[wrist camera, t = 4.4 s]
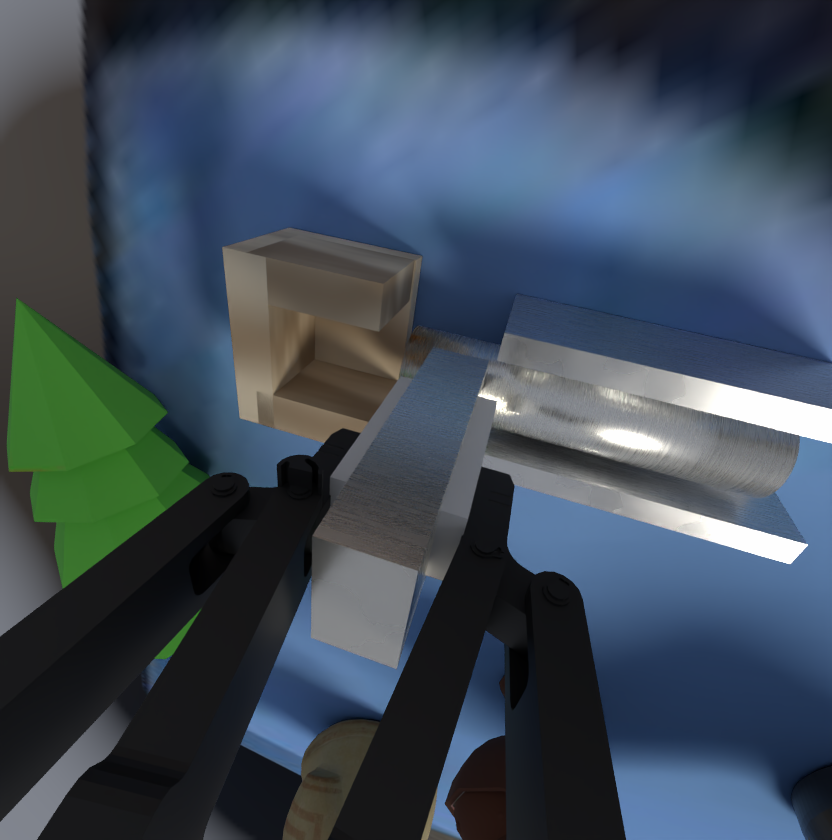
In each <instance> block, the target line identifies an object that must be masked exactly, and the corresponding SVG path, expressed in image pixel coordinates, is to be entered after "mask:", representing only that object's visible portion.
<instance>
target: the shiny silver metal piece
mask: <svg viewBox="0 0 832 840" xmlns="http://www.w3.org/2000/svg"><path fill="white" fill-rule="evenodd" d="M500 348H501V345H499V344H494V343H490V342H486V341H482V340H478V339H474V338H469V337H465V336H461V335H457V334H453V333H448V332H444V331H440V330H436V329H432V328H428V327H423V326H419V325H418V326H417V327H416V328H415V329H414V330H413V332H412V334H411V336H410V339H409V341H408V344H407V346H406V349H405V353H404V356H403V360H402V364H401V368H400V373H399V378H400V377H401V376H403V377H407V378H411V379H413V380H412V381H411V383H410V384H409V386H408V387H407V389H406V391H405V392H404V394H403V395H402V397H401V398H400V400H399V401H398V403H397V405H396V406H395V408H394V409H393V411H392V412H391V414H390V415H389V417H388V419H387V420H386V422H385V423H384V425H383V426H382V428H381V429H380V431H379V433H378V434H377V436H376V437H375V439H374V440H373V442H372V443H371V445H370V447H369V448H368V450H367V451H366V453H365V454H364V456H363V457H362V459H361V461H360V462H359V464H358V465H357V467H356V468H355V470H354V471H353V473H352V475H351V476H350V478H349V479H348V481H347V482H346V484H345V485H344V487H343V489H342V490H341V492H340V493H339V495H338V496H337V498H336V499H335V501H334V503H333V504H332V506H331V507H330V509H329V510H328V512H327V514H326V515H325V517H324V518H323V520H322V521H321V523H320V524H319V526H318V528H317V529H316V531H315V532H314V534H313V535H312V598H311V638H313V639H316V640H319V641H321V642H324V643H327V644H330V645H332V646H335V647H338V648H341V649H343V650H346V651H349V652H351V653H354V654H357V655H360V656H362V657H365V658H368V659H370V660H373V661H376V662H379V663H381V664H384V665H387V666H389V667H392V668H395V669H397V666H398V663H399V660H400V657H401V654H402V650H403V647H404V644H405V641H406V638H407V635H408V631H409V628H410V625H411V622H412V619H413V616H414V612H415V609H416V606H417V603H418V600H419V597H420V594H421V590H422V587H423V584H424V581H425V578H426V575H425V574H426V570H427V566H428V561H429V557H430V553H431V549H432V545H433V540H434V536H435V532H436V528H437V523H438V519H439V515H440V511H441V508H442V505H443V502H444V499H445V496H446V493H447V490H448V487H449V484H450V481H451V478H452V475H453V472H454V469H455V466H456V463H457V460H458V457H459V454H460V451H461V448H462V445H463V442H464V439H465V436H466V433H467V430H468V427H469V424H470V421H471V418H472V415H473V412H474V409H475V406H476V403H477V400H478V397H479V396H480V397H484V398H488V399H491V400H495V401H498V402H497V406H496V410H495V414H494V418H493V422H492V426H491V427H492V428H496V429H500V430H503V431H507V432H511V433H515V434H518V435H522V436H526V437H529V438H533V439H537V440H541V441H544V442H548V443H552V444H555V445H559V446H563V447H567V448H570V449H574V450H578V451H581V452H585V453H589V454H592V455H596V456H600V457H604V458H607V459H611V460H615V461H618V462H622V463H626V464H630V465H633V466H637V467H641V468H644V469H648V470H652V471H655V472H659V473H663V474H667V475H670V476H674V477H678V478H681V479H685V480H689V481H693V482H696V483H700V484H704V485H707V486H711V487H715V488H719V489H722V490H726V491H730V492H733V493H737V494H741V495H744V496H748V497H752V498H764V497H767V496H769V495H771V494H773V493H774V492H776V491H777V490H778V489H779V488H780V487H781V486H782V485H783V484H784V483H785V481H786V480H787V478H788V477H789V475H790V474H791V472H792V470H793V468H794V465H795V462H796V460H797V456H798V451H799V443H800V439H799V435H797V434H793V433H789V432H785V431H781V430H777V429H773V428H769V427H765V426H760V425H756V424H752V423H748V422H744V421H740V420H736V419H732V418H728V417H724V416H720V415H716V414H712V413H708V412H703V411H699V410H695V409H691V408H687V407H683V406H679V405H675V404H671V403H667V402H663V401H659V400H655V399H651V398H646V397H642V396H638V395H634V394H630V393H626V392H622V391H618V390H614V389H610V388H606V387H602V386H598V385H594V384H589V383H585V382H581V381H577V380H573V379H569V378H565V377H561V376H557V375H553V374H549V373H545V372H541V371H537V370H532V369H528V368H524V367H520V366H516V365H512V364H508V363H504V362H500V361H497V359H498V355H499V351H500Z"/></svg>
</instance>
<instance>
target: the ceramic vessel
mask: <svg viewBox="0 0 832 840" xmlns="http://www.w3.org/2000/svg"><path fill="white" fill-rule="evenodd" d="M379 723H380V722H378V721H372V720H365V719H355V720H345V721H341V722H339V723H336V724H334V725H332V726H330V727H329V728H327V729H326V730H324V731H322V732H321V733H320V734H318V735H317V737H316V738H315V739H314V740H313V741H312V742H311V744H310V745H309V746H308V748H307V749H306V751H305V753H304V756H303V759H302V764H301V767H302V770H301V776H302V780H303V782H302V783H301V785H300V787H299V789H298V791H297V793H296V796H295V798H294V800H293V803H292V805H291V808H290V810H289V813H288V816H287V819H286V823H285V827H284V832H283V840H328V838H329V836H330V834H331V831H332V829H333V827H334V825H335V823H336V820H337V818H338V816H339V814H340V811H341V809H342V807H343V805H344V802H345V800H346V798H347V796H348V793H349V791H350V789H351V786H352V784H353V782H354V780H355V777H356V775H357V773H358V771H359V768H360V766H361V764H362V762H363V759H364V757H365V755H366V753H367V750H368V748H369V746H370V744H371V741H372V739H373V737H374V735H375V732H376V730H377V728H378V726H379ZM437 787H438V786H437ZM436 797H437V790H436V793H435V796H434V799H433V803H432V806H431V809H430V812H429V816H428V819H427V822H426V826H425V829H424V832H423V835H422V839H421V840H427V839H428V836H429V833H430V829H431V824H432V820H433V816H434V811H435V805H436Z"/></svg>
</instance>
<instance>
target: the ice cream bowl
mask: <svg viewBox="0 0 832 840" xmlns="http://www.w3.org/2000/svg"><path fill="white" fill-rule="evenodd" d="M499 684H500V689H501V691H502V693H503V695H504V697H505V675H504V676H503V678H502V679H501V681H500V682H499ZM445 805H446V806H447V808H448V809H449V811H450V812H451V813H452V815H453V816H454V818H455V821H456V827H457V830H458V832H459V834H460V836H461V838H462V840H506V745H505V735H504V736H500V737H496V738H493V739H490V740H488V741H487V742H485V743H484V744H483V745H481V746H480V747H478V748H477V749H475V750H474V751H473V753H472V754H471V755H470V756H469V758H468V759H467V760H466V761H465V763H464V764H463V765H462V767H461V769H460V770H459V772H458V774H457V775H456V777H455V778H454V780H453V782H452V785H451V788H450V790H449V793H448V796H447V799H446V802H445Z"/></svg>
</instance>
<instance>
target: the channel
mask: <svg viewBox="0 0 832 840" xmlns="http://www.w3.org/2000/svg"><path fill="white" fill-rule="evenodd" d="M497 361H500V362H504V363H508V364H512V365H516V366H520V367H524V368H528V369H532V370H537V371H541V372H545V373H549V374H553V375H557V376H561V377H565V378H569V379H573V380H577V381H581V382H585V383H589V384H594V385H598V386H602V387H606V388H610V389H614V390H618V391H622V392H626V393H630V394H634V395H638V396H642V397H646V398H651V399H655V400H659V401H663V402H667V403H671V404H675V405H679V406H683V407H687V408H691V409H695V410H699V411H703V412H708V413H712V414H716V415H720V416H724V417H728V418H732V419H736V420H740V421H744V422H748V423H752V424H756V425H760V426H765V427H769V428H773V429H777V430H781V431H785V432H789V433H793V434H797V435H801V436H805V437H809V438H813V439H817V440H822V441H826V442H830V443H832V363H829V362H824V361H820V360H815V359H811V358H806V357H802V356H797V355H793V354H788V353H784V352H779V351H775V350H770V349H765V348H761V347H756V346H752V345H747V344H743V343H738V342H734V341H729V340H725V339H720V338H715V337H711V336H706V335H702V334H697V333H693V332H688V331H684V330H679V329H675V328H670V327H666V326H661V325H656V324H652V323H647V322H643V321H638V320H634V319H629V318H625V317H620V316H616V315H611V314H607V313H602V312H597V311H593V310H588V309H584V308H579V307H575V306H570V305H566V304H561V303H557V302H552V301H548V300H543V299H538V298H534V297H529V296H525V295H520V294H516V297H515V300H514V303H513V307H512V310H511V313H510V316H509V320H508V323H507V326H506V329H505V333H504V336H503V340H502V344H501V348H500V351H499V355H498V359H497ZM482 467H485V468H489V469H492V470H496V471H499V472H503V473H506V474H510V476H511V479H512V481H513V484H514V485H517V486H521V487H524V488H528V489H531V490H535V491H538V492H542V493H545V494H548V495H552V496H555V497H559V498H562V499H566V500H569V501H573V502H576V503H580V504H583V505H587V506H590V507H594V508H597V509H601V510H604V511H608V512H611V513H614V514H618V515H621V516H625V517H628V518H632V519H635V520H639V521H642V522H646V523H649V524H653V525H656V526H660V527H663V528H667V529H670V530H674V531H677V532H681V533H684V534H687V535H691V536H694V537H698V538H701V539H705V540H708V541H712V542H715V543H719V544H722V545H726V546H729V547H733V548H736V549H740V550H743V551H747V552H750V553H753V554H757V555H760V556H764V557H767V558H771V559H774V560H778V561H781V562H785V563H788V564H790V563H791V562H792V561H793V560H794V559H795V558H796V557H797V556H798V555H799V554H800V553H801V552H802V551H803V550H804V548H805V547H806V546H807V543H806V541H805V540H804V538H803V537H802V535H801V533H800V532H799V530H798V529H797V527H796V525H795V524H794V522H793V520H792V519H791V517H790V516H789V514H788V512H787V511H786V509H785V508H784V506H783V504H782V503H781V501H780V500H779V498H778V496H777V495H776V493H775V492H774V493H773V494H771V495H769V496H767V497H764V498H752V497H748V496H744V495H741V494H737V493H733V492H730V491H726V490H722V489H719V488H715V487H711V486H707V485H704V484H700V483H696V482H693V481H689V480H685V479H681V478H678V477H674V476H670V475H667V474H663V473H659V472H655V471H652V470H648V469H644V468H641V467H637V466H633V465H630V464H626V463H622V462H618V461H615V460H611V459H607V458H604V457H600V456H596V455H592V454H589V453H585V452H581V451H578V450H574V449H570V448H567V447H563V446H559V445H555V444H552V443H548V442H544V441H541V440H537V439H533V438H529V437H526V436H522V435H518V434H515V433H511V432H507V431H503V430H500V429H496V428H492V427H491V430H490V434H489V438H488V442H487V446H486V450H485V454H484V458H483V462H482Z"/></svg>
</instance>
